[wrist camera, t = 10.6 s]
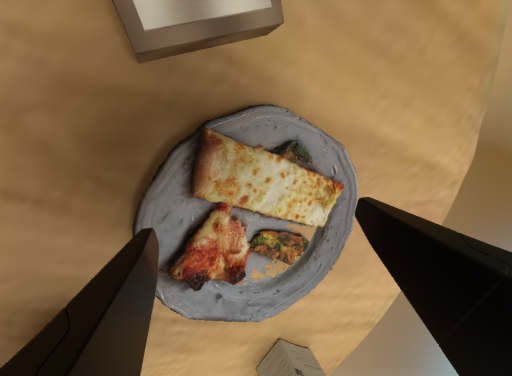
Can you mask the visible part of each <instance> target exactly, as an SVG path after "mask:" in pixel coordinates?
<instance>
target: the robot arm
mask: <svg viewBox="0 0 512 376" xmlns="http://www.w3.org/2000/svg"><path fill="white" fill-rule="evenodd" d="M355 217H356V219H357V221H358V223H359V224H360V226H361V228H362V230H363V232H364V234H365V236H366V237H367V239H368V241H369V243H370V244H371V246H372V248H373V249H374V251H375V252H376V254H377V255H378V257H379V258H380V259H381V261H382V262H383V264H384V265H385V267H386V268H387V270H388V271H389V273H390V274H391V276H392V277H393V279H394V280H395V282H396V283H397V285H398V286H399V287H400V289H401V290H402V292H403V293H404V295H405V296H406V298H407V299H408V301H409V302H410V304H411V305H412V307H413V308H414V310H415V311H416V313H417V314H418V315H419V317H420V318H421V320H422V321H423V323H424V324H425V326H426V327H427V329H428V330H429V332H430V333H431V334H432V336H433V338H434V339H435V341H436V342H437V343H438V344H439V347H440V348H441V349H442V351H443V353H444V354H445V356H446V357H447V359H448V360H449V362H450V363H451V364H452V366H453V367H454V369H455V370H456V372H457V373H458V375H459V376H512V252H509V251H507V250H504V249H501V248H498V247H495V246H493V245H490V244H487V243H485V242H482V241H479V240H477V239H474V238H471V237H469V236H466V235H464V234H461V233H457V232H456V231H453V230H451V229H449V228H446V227H443V226H441V225H438V224H436V223H433V222H431V221H428V220H426V219H423V218H421V217H418V216H416V215H413V214H411V213H408V212H406V211H403V210H401V209H398V208H396V207H393V206H390V205H388V204H385V203H383V202H380V201H378V200H375V199H373V198H370V197H363V198H360V199H359V200H358V202H357V206H356V209H355ZM158 260H159V242H158V239H157V236H156V233H155V230H154V228H152V227H150V228H143V229H141V230H140V231H139V232H138V233H137V234H136V235H135V236H134V237H133V238H132V239H131V240H130V241H129V242H128V243H127V244H126V245H125V246H124V247H123V248H122V249H121V250H120V251H119V252H118V253H117V254H116V255H115V256H114V257H113V258H112V259H111V260H110V261H109V262H108V263H107V264H106V265H105V266H104V267H103V269H102V270H101V271H100V272H99V273H98V274H97V275H96V276H95V277H94V278H93V279H92V280H91V281H90V282H89V283H88V284H87V285H86V286H85V287H84V288H83V289H82V290H81V291H80V292H79V293H78V294H77V295H76V296H75V297H74V298H73V299H72V300H71V301H70V302H69V303H68V304H67V305H66V307H65V308H63V309H62V310H61V311H60V312H59V313H58V314H57V315H56V316H55V317H54V318H53V319H52V320H51V321H50V322H49V323H48V324H47V325H46V326H45V327H44V328H43V329H42V330H41V331H40V332H39V333H38V334H37V335H36V336H35V337H34V338H33V339H32V340H31V341H30V342H28V343H27V344H26V345H25V346H24V347H23V348H22V349H21V350H20V351H19V352H18V353H17V354H16V355H14V356H13V357H12V358H11V359H10V360H9V361H8V362H7V363H6V364H5V365H3V366H2V367H1V368H0V376H140V374H141V368H142V363H143V358H144V352H145V347H146V341H147V336H148V330H149V325H150V320H151V314H152V309H153V303H154V298H155V292H156V287H157V276H158Z"/></svg>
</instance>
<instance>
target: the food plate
mask: <svg viewBox="0 0 512 376" xmlns="http://www.w3.org/2000/svg"><path fill="white" fill-rule="evenodd" d="M288 110H289V109H288V108H283V107H279V106H274V105H259V106H250V107H249V108H245V109H243V110H239V111H237V112H234V113H232V114H231V113H230V114H228V115H226V116H222V117H221V116H220V117H219V118H215V119H212V120H208V121H206V122H204V123H203V124H201V126H200V127H199V128H197V130H196V131H195V133H192V135H190V136H188V137H187V138H186V139H185V140H182V141H180V142H179V143H178V144H177V145H176V146H175V147H174V148H173V149H172V150H171V151H170V152H169V154H168V155H167V158H166V160H165V162H163V163H162V164H161V166H160V167H159V169H158V170H157V171H156V175H155V176H154V177H153V179H152V182H150V184H149V185H148V187H147V189H146V191H145V193H144V195H143V196H142V199H141V201H140V203H139V206H138V209H137V211H136V213H135V215H136V216H135V221H134V224H133V237H134V236H135V235H136V234H137V233H138V232H139V231H140V230H141V229H143V228H150V227H152V228H154V230H155V233H156V236H157V239H158V242H159V260H158V276H157V287H156V292H155V295H156V296H155V297H158V299H159V300H160V301H161V302H162V304H163V305H165V306H167V307H168V308H169V309H171V310H173V311H174V312H176V313H177V314H180V315H182V316H183V317H185V318H188V319H194V320H196V319H198V320H206V321H207V320H209V321H211V320H212V321H221V320H222V321H227V322H230V321H231V322H232V321H233V322H235V321H237V322H249V321H250V320H251V321H252V322H253V321H255V322H260V321H262V320H266V319H268V318H272V317H273V316H276V315H277V314H279V313H280V312H282V311H285V310H286V309H288V307H289V306H291V305H292V304H294V303H295V302H297V301H298V300H299V299H301V298H302V297H304V296H305V295H307V294H308V293H309V292H311V290H312V289H314V288H315V287H316V286H317V285H318V283H319V282H321V281H322V280H323V278H324V277H325V276H326V274H327V273H328V272H329V271H330V270H331V269H332V266H333V265H334V264H335V261H337V260H338V258H339V256H340V255H341V252H342V250H343V248H344V245H345V243H346V241H347V238H349V235H350V233H351V232H352V228H353V222H354V216H355V209H356V206H357V197H358V186H357V183H358V182H357V181H358V180H357V177H356V171H354V170H355V168H354V166H353V164H352V163H351V161H350V159H349V156H348V153H347V152H346V150H345V148H343V147H344V146H343V145H342V144H341V145H342V146H343V147H341V145H340V143H339V142H338V141H337V142H338V143H339V144H338V143H337V142H336V140H335V139H334V138H332V137H331V136H329V135H328V134H326V133H325V132H323V131H322V130H321V129H319V128H317V127H316V126H314V125H313V124H311V123H310V122H308V121H307V120H305V119H304V120H303V118H302V117H300V116H299V115H298V116H297V115H296V114H295V113H294V112H292V113H290V112H288ZM306 121H307V122H306ZM330 137H331V138H330ZM333 139H334V140H333ZM233 214H237V215H238V218H237V219H234V218H232V215H233ZM283 221H284V223H283ZM284 224H285V225H286V224H296V225H297V224H298V225H299V226H302V224H304V225H309V226H311V227H312V226H318V227H317V229H316V232H315V233H314V235H313V237H312V239H311V241H310V242H308V241H307V240H306V238H305V237H302V236H299V235H294V234H293V232H291V230H292V229H293V228H290V230H289V231H288V229H289V228H285V227H286V226H284ZM278 230H279V231H278ZM304 251H305V252H304ZM303 252H304V254H303V255H302V253H303ZM301 255H302V256H301ZM296 256H301V257H300V258H299V260H297V261H296V262H295V263H294V265H292V264H293V262H294V260H295V259H296ZM273 258H274V259H277V260H280V261H283V262H284V263H287V264H289V265H292V266H290V267H289V268H288V269H287V270H286V271H285V272H284V273H280V274H279V273H277V275H276V277H274V278H272V277H271V276H267V277H265V278H262V279H261V281H263V282H262V283H260V280H259V279H260V278H258V279H257V280H258V282H254V283H252V282H253V281H254V280H256V279H254V278H253V277H252V278H250V279H249V277H251V276H252V275H251V272H252V269H253V270H259V272H260V273H261V274H262V273H264V274H266V273H267V272H266V271H265V270H266V269H268V268H266V269H265V267H263V266H264V265H266V264H269V263H268V261H269V262H272V261H273ZM276 262H277V261H275V264H276ZM336 263H337V262H336ZM271 264H272V263H271ZM273 264H274V263H273ZM272 269H273V266H272ZM284 269H285V268H284ZM284 269H283V270H284ZM269 270H270V269H268V271H269ZM277 270H278V269H277ZM246 273H247V275H246ZM270 273H271V272H270ZM265 276H266V275H265ZM244 278H246V280H245V279H244ZM247 281H250V282H247ZM243 283H246V284H249V285H247V286H246V285H242V284H243ZM239 285H240V286H239Z"/></svg>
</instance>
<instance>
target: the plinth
mask: <svg viewBox="0 0 512 376" xmlns="http://www.w3.org/2000/svg"><path fill="white" fill-rule="evenodd" d="M112 1H113V3H114V5H115V8H116V10H117V12H118V15H119V17H120V20H121V22H122V24H123V27H124V29H125V31H126V34H127V36H128V38H129V41H130V43H131V45H132V48H133V50H134V53H135V55H136V57H137V60H138V62H139V63H142V62H147V61H151V60H156V59H160V58H165V57H169V56H174V55H178V54H183V53H187V52H192V51H196V50H201V49H205V48H210V47H215V46H219V45H224V44H228V43H233V42H237V41H242V40H246V39H251V38H255V37H260V36H264V35H268V34H269V33H270V32H272V31H273V30H274V29H276V28H277V27H279V26H280V25H281V24H283V23H284V18H283V12H282V6H281V0H112Z"/></svg>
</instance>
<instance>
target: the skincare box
mask: <svg viewBox="0 0 512 376" xmlns="http://www.w3.org/2000/svg"><path fill="white" fill-rule="evenodd" d="M256 370H257V373H258V376H326V374H325V373H324V371H323V369H322V368H321V366H320V364H319V363H318V361H317V360H316V358H315V356H314V355H313V353H312V351H311V350H310V349H307V348H303V347H299V346H296V345H293V344H291V343H288V342H286V341H284V340H281V339H280V340H278V341H277V343H276V344H275V345H274V346H273V348H272V349H271V350H270V352H269V353H268V354H267V355H266V357H265V358H264V359H263V360H262V362H261V363H260V364H259V366H258V367H257V368H256Z"/></svg>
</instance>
